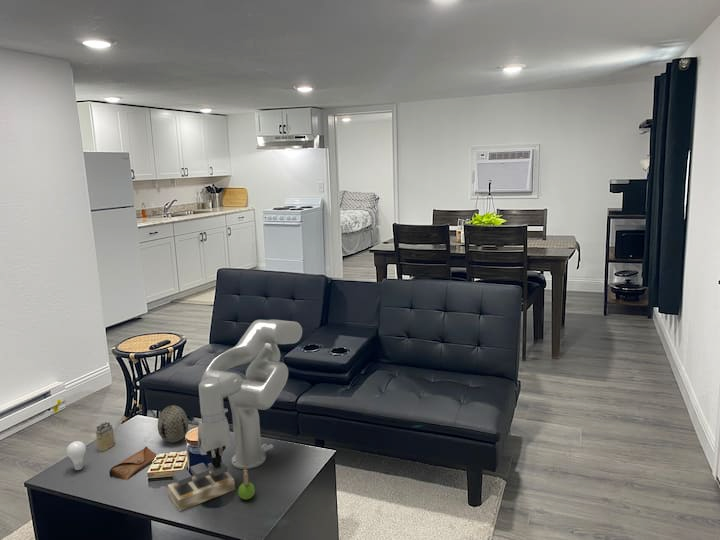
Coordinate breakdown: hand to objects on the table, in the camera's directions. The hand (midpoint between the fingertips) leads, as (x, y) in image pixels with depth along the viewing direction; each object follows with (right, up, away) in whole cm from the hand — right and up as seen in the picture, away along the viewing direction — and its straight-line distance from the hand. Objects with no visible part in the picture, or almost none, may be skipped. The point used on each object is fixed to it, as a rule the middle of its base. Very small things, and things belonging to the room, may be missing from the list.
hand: (216, 465), depth 191 cm
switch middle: (-5, -3, -3) cm, 6 cm away
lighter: (-51, -4, +31) cm, 60 cm away
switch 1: (-10, -4, -6) cm, 12 cm away
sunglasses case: (-34, -7, +16) cm, 38 cm away
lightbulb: (-55, -7, +15) cm, 57 cm away
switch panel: (-5, -8, -2) cm, 10 cm away
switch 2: (0, -3, +1) cm, 3 cm away
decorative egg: (-26, -2, +34) cm, 43 cm away
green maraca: (+12, -9, -6) cm, 16 cm away
